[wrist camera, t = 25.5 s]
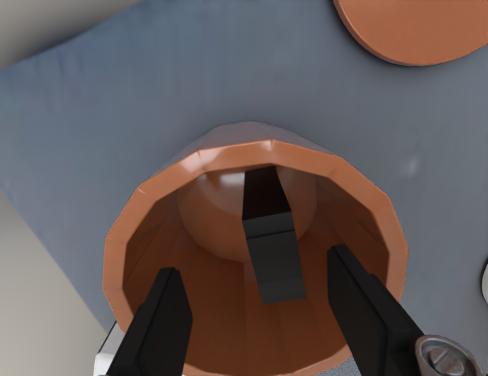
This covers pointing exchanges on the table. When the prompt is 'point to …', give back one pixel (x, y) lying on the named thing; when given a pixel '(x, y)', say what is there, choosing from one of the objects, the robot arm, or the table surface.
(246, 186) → the ink cartridge
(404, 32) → the lid
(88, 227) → the table surface
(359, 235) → the terracotta pot
